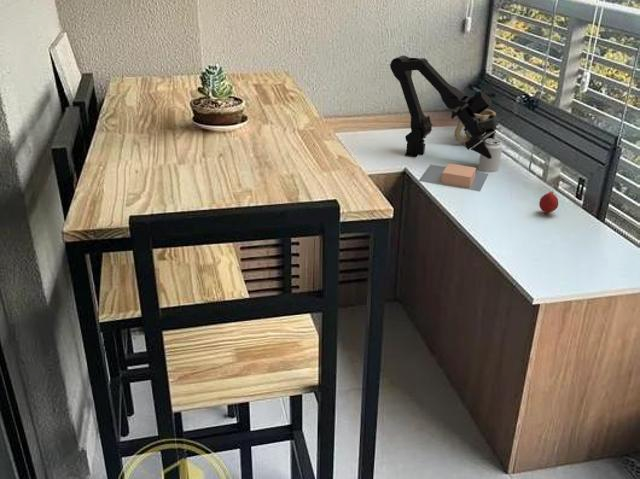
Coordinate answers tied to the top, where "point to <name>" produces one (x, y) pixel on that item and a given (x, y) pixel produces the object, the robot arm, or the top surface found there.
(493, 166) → the can
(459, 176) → the block
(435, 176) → the baseplate
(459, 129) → the tankard
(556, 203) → the onion
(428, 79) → the robot arm
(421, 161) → the top surface
